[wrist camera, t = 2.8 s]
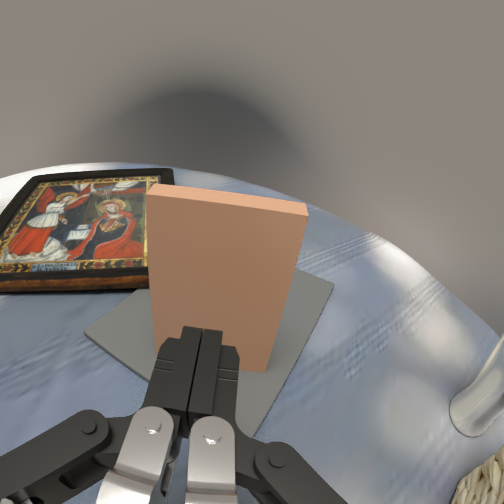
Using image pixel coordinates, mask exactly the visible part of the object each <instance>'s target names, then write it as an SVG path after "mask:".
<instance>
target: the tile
mask: <svg viewBox="0 0 504 504" xmlns="http://www.w3.org/2000/svg"><path fill="white" fill-rule="evenodd" d="M308 217H309V216H308V212H307V208H306V204H305V203H299V202H292V201H286V200H280V199H273V198H267V197H260V196H253V195H246V194H239V193H232V192H224V191H216V190H209V189H200V188H192V187H184V186H175V185H166V184H156V183H154V185H153V186H152V187H151V188H150V189H149V191H148V192H147V193H146V232H147V254H148V271H149V285H150V297H151V308H152V318H153V328H154V337H155V345H156V353H157V355H158V352H159V348H160V346H161V345H162V344H163V343H164V342H165V340H166V339H167V338H168V337H171V338H178V339H180V337H181V333H182V329H183V327H184V326H190V327H197V328H203V331H204V328H205V329H212V330H219V331H223V337H222V345H227V346H235V347H236V350H237V352H238V354H239V357H240V363H239V370H245V371H254V372H264V373H265V370H266V367H267V364H268V360H269V357H270V354H271V351H272V347H273V344H274V341H275V337H276V334H277V330H278V327H279V324H280V320H281V317H282V313H283V310H284V306H285V303H286V299H287V296H288V292H289V288H290V285H291V281H292V278H293V274H294V270H295V267H296V263H297V259H298V255H299V252H300V248H301V244H302V240H303V236H304V232H305V228H306V225H307V221H308Z"/></svg>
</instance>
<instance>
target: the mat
mask: <svg viewBox="0 0 504 504" xmlns="http://www.w3.org/2000/svg"><path fill="white" fill-rule="evenodd" d="M334 285H335V284H334V283H331V282H329V281H326V280H324V279H321V278H319V277H316V276H314V275H311V274H309V273H306V272H304V271H301V270H299V269H296V268H295V270H294V274H293V278H292V281H291V285H290V288H289V292H288V296H287V299H286V303H285V306H284V310H283V313H282V317H281V320H280V324H279V327H278V330H277V334H276V337H275V341H274V344H273V347H272V351H271V354H270V357H269V360H268V364H267V367H266V370H265V373H264V372H254V371H245V370H239V375H238V388H237V400H236V412H235V420H236V423H237V426H238V428H239V429H240V430H241V431H242V432H243V433H244V434H245V435H247V436H248V437H250V438H253V436H254V435H255V433H256V431H257V430H258V428H259V426H260V425H261V423H262V421H263V420H264V418H265V416H266V415H267V413H268V411H269V409H270V408H271V406H272V404H273V403H274V401H275V399H276V397H277V396H278V394H279V392H280V390H281V389H282V387H283V385H284V383H285V381H286V380H287V378H288V376H289V374H290V372H291V371H292V369H293V367H294V365H295V363H296V361H297V359H298V357H299V356H300V354H301V352H302V350H303V348H304V346H305V344H306V342H307V340H308V338H309V336H310V334H311V332H312V331H313V329H314V327H315V325H316V323H317V321H318V319H319V317H320V314H321V312H322V310H323V308H324V306H325V304H326V302H327V300H328V298H329V296H330V294H331V292H332V290H333V287H334ZM84 334H85V336H86V337H87V338H89V339H90V340H91V341H92V342H94V343H95V344H96V345H97V346H99V347H100V348H101V349H103V350H104V351H105V352H106V353H108V354H109V355H110V356H112V357H113V358H114V359H116V360H117V361H118V362H120V363H121V364H123V365H124V366H125V367H127V368H128V369H130V370H131V371H132V372H134V373H135V374H137V375H138V376H139V377H141V378H142V379H144V380H145V381H147V382H148V383H149V382H150V378H151V375H152V372H153V369H154V365H155V362H156V360H157V353H156V345H155V337H154V328H153V318H152V308H151V297H150V287H148V288H138V289H137V290H136V291H135V292H133V293H132V294H131V295H129V296H128V297H127V298H125V299H124V300H123V301H122V302H120V303H119V304H118V305H116V306H115V307H114V308H113V309H111V310H110V311H109V312H108V313H106V314H105V315H104V316H103V317H101V318H100V319H99V320H97V321H96V322H95V323H94V324H92V325H91V326H90V327H89V328H87V329H86V330H85V331H84Z"/></svg>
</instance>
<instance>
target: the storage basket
mask: <svg viewBox="0 0 504 504" xmlns="http://www.w3.org/2000/svg"><path fill="white" fill-rule="evenodd" d="M451 504H504V445H503V446H502V447H501V448H500V449H499V451H497V453H496V454H494V455H492V456H490V457H489V458H488V459H486V461H485V462H484V463H483V464H482V465H481V466H478V467H477V468H475V469H474V470H473V471H472V472H470V473H469V474H468V475H467V476H465V477H463V478H462V479H461V480H460V482H459V484H458V486H457V489H456V492H455V495H454V498H453V500H452V502H451Z"/></svg>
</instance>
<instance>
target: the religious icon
mask: <svg viewBox="0 0 504 504" xmlns="http://www.w3.org/2000/svg"><path fill="white" fill-rule="evenodd" d="M154 183H156V184H166V185H174V175H173V170H172V169H170V168H144V169H116V170H98V171H81V172H66V173H55V174H46V175H38V176H34V177H32V178H31V179H30V180H29V181H28V182H27V183H26V184H25V185H24V186H23V187H22V188H21V190H20V191H19V192H18V193H17V194H16V195H15V197H14V198H13V199H12V200H11V202H10V203H9V204H8V205H7V207H6V208H5V209H4V210H3V212H2V213H1V214H0V292H19V291H68V290H102V289H124V288H148V287H150V285H149V271H148V254H147V232H146V193H147V192H148V191H149V189H150V188H151V187H152V186H153V185H154Z"/></svg>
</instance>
